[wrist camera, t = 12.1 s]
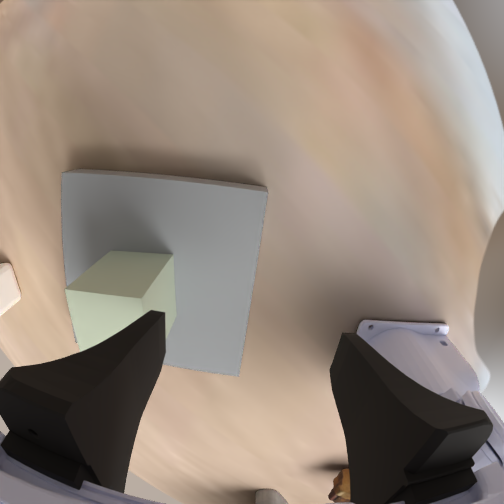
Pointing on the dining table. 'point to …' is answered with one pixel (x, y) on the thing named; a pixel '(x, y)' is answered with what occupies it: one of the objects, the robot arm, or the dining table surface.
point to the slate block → (175, 250)
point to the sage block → (120, 294)
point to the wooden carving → (341, 488)
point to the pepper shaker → (8, 288)
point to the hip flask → (269, 497)
